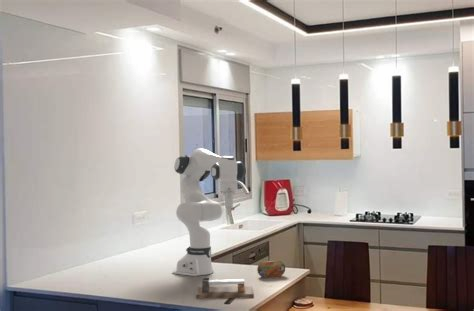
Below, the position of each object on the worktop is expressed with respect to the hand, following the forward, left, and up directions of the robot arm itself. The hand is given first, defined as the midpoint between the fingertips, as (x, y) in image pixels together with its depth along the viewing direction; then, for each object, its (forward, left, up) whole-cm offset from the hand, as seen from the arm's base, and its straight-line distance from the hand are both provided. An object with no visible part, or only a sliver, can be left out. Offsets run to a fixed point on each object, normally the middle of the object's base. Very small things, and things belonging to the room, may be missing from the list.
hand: (229, 214), depth 274 cm
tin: (+18, +15, -34) cm, 42 cm away
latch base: (+5, -23, -34) cm, 41 cm away
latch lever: (+5, -23, -29) cm, 37 cm away
